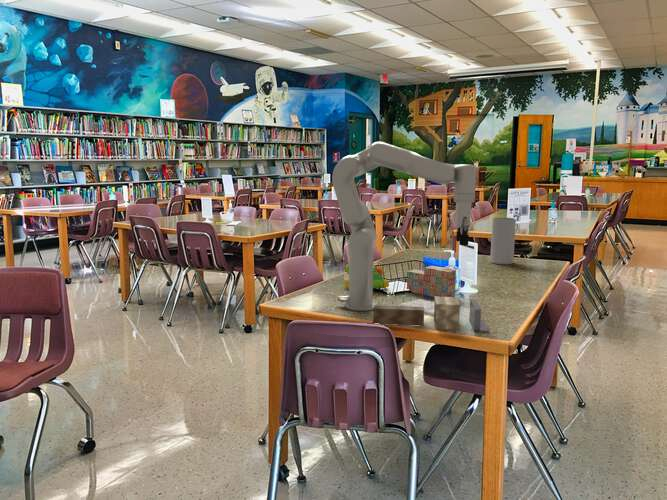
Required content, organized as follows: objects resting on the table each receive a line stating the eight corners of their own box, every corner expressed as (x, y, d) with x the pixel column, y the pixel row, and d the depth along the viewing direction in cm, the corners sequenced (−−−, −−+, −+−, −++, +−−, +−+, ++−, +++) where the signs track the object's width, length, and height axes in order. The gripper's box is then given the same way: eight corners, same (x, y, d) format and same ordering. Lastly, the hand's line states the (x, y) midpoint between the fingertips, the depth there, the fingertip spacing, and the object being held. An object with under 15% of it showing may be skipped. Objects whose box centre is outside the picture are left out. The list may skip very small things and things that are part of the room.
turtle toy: (363, 280, 281) (363, 256, 279) (393, 290, 261) (394, 264, 259) (333, 285, 271) (333, 260, 269) (363, 295, 252) (363, 268, 250)
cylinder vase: (514, 261, 333) (516, 218, 329) (512, 265, 321) (515, 220, 317) (491, 260, 337) (493, 217, 333) (489, 263, 326) (491, 219, 322)
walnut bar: (373, 324, 210) (373, 308, 209) (373, 321, 214) (374, 305, 213) (423, 326, 208) (424, 310, 207) (423, 322, 212) (423, 306, 211)
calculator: (420, 302, 242) (420, 298, 242) (459, 312, 227) (460, 308, 227) (398, 308, 233) (398, 303, 233) (438, 318, 219) (438, 313, 218)
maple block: (435, 329, 204) (436, 304, 203) (433, 320, 215) (434, 296, 214) (458, 329, 203) (460, 304, 202) (455, 321, 214) (456, 297, 213)
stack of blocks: (406, 291, 260) (406, 264, 258) (414, 289, 264) (415, 262, 262) (447, 300, 245) (448, 271, 243) (455, 297, 250) (456, 269, 248)
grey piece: (474, 331, 201) (475, 309, 200) (469, 320, 215) (470, 299, 214) (488, 332, 201) (490, 309, 200) (483, 320, 215) (484, 299, 213)
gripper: (451, 195, 226) (449, 239, 229) (456, 199, 209) (454, 246, 212) (471, 196, 225) (469, 240, 228) (478, 199, 208) (475, 247, 211)
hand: (462, 243), depth 220 cm, fingers open, 9 cm apart
